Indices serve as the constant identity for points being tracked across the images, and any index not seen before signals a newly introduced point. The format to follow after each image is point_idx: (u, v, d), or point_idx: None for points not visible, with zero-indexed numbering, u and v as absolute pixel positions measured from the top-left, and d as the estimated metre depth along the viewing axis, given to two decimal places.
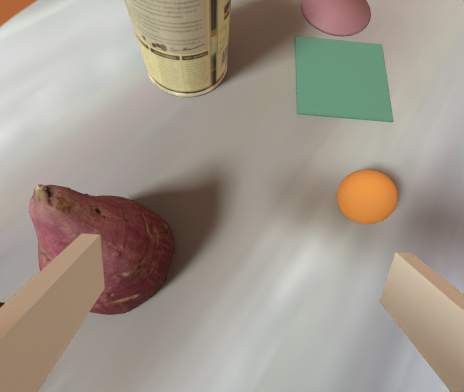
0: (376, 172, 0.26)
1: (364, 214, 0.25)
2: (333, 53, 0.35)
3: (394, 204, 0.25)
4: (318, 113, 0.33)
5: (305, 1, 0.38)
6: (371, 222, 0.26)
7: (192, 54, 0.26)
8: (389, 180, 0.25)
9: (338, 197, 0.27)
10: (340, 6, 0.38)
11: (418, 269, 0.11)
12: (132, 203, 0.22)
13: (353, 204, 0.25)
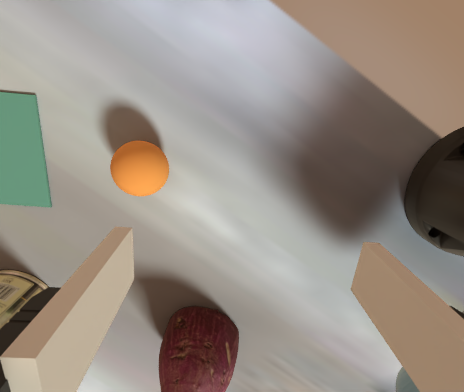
0: (113, 170, 0.25)
1: (159, 184, 0.26)
2: None
3: (147, 157, 0.24)
4: (45, 185, 0.30)
5: None
6: (167, 170, 0.26)
7: None
8: (121, 161, 0.24)
9: None
10: None
11: (380, 257, 0.11)
12: (163, 364, 0.30)
13: (150, 193, 0.26)
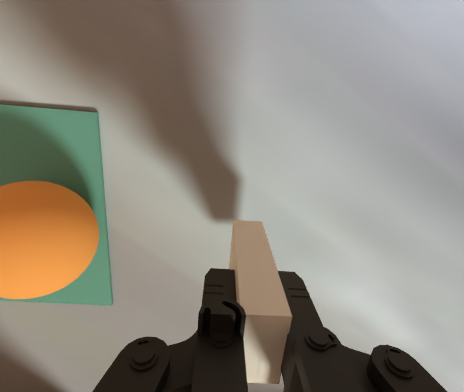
0: (56, 259, 0.11)
1: None
2: None
3: (84, 201, 0.14)
4: (105, 270, 0.16)
5: None
6: None
7: None
8: (71, 229, 0.12)
9: None
10: None
11: (251, 232, 0.13)
12: None
13: None
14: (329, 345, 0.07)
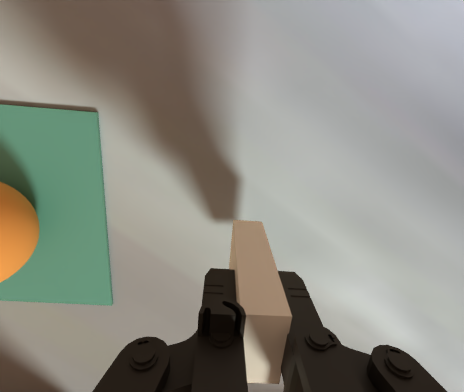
0: None
1: (25, 257, 0.13)
2: None
3: None
4: (105, 270, 0.16)
5: None
6: (36, 226, 0.14)
7: None
8: None
9: None
10: None
11: (251, 232, 0.13)
12: None
13: (5, 278, 0.13)
14: (329, 345, 0.07)
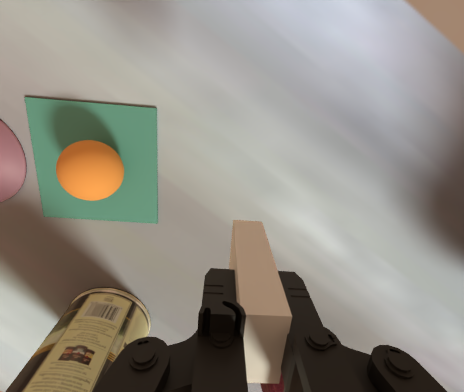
0: (67, 176, 0.22)
1: (120, 184, 0.25)
2: None
3: (107, 157, 0.23)
4: (155, 200, 0.28)
5: None
6: (123, 169, 0.25)
7: None
8: (78, 165, 0.22)
9: None
10: None
11: (251, 232, 0.13)
12: (276, 386, 0.29)
13: None
14: (330, 345, 0.07)
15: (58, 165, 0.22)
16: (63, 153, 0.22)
